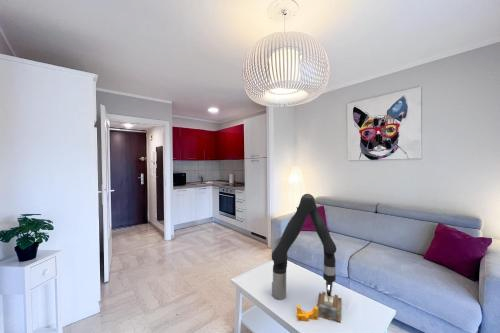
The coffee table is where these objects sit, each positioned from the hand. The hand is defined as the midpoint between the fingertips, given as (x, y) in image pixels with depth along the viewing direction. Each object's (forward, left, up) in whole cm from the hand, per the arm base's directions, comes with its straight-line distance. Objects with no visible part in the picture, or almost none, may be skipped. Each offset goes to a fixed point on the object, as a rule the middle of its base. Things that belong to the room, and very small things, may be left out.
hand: (329, 298), depth 137 cm
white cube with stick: (0, -5, -3) cm, 6 cm away
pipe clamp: (-11, -18, -5) cm, 21 cm away
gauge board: (0, -2, -4) cm, 5 cm away
